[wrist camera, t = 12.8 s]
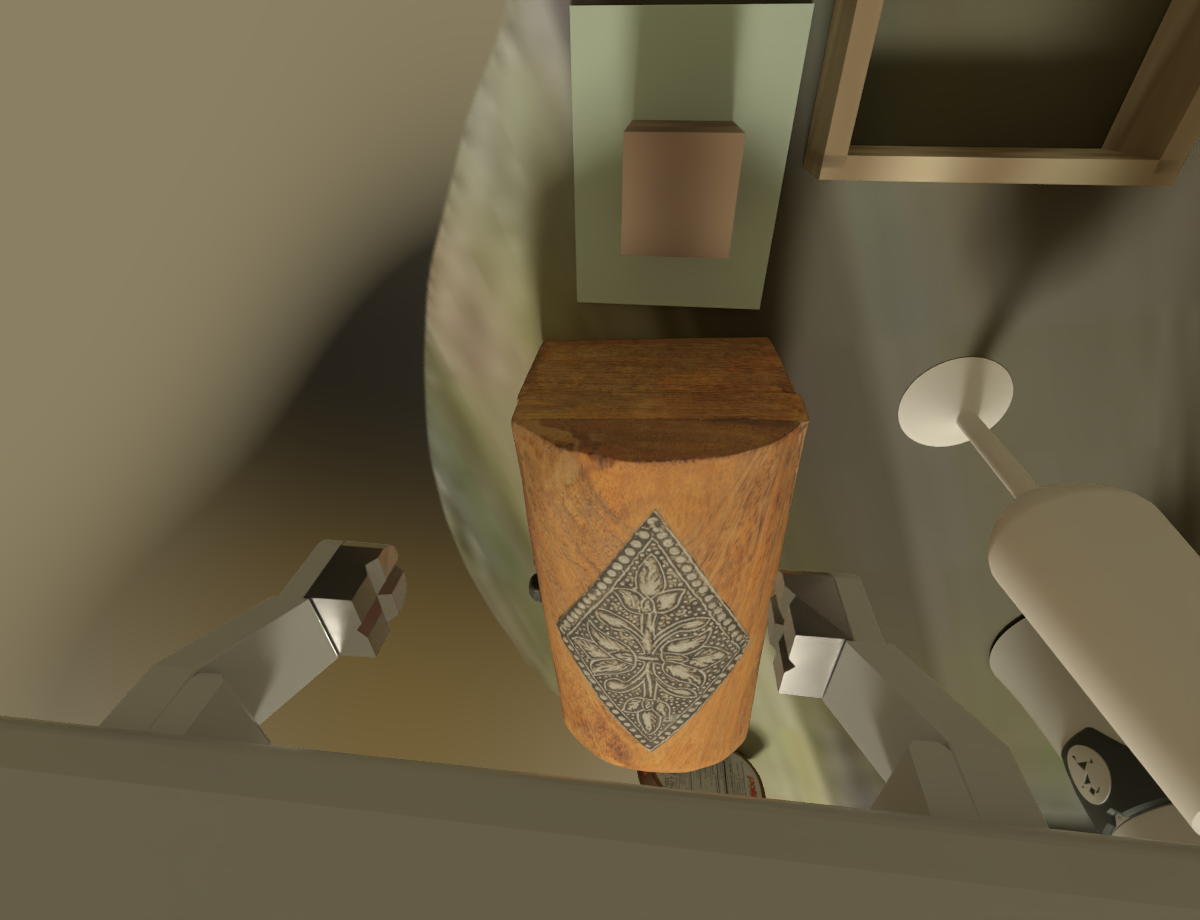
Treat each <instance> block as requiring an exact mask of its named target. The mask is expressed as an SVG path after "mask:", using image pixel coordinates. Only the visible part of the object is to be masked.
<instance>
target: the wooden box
mask: <svg viewBox="0 0 1200 920" xmlns="http://www.w3.org/2000/svg"><path fill="white" fill-rule="evenodd" d="M809 422H810V419H809V418H808V415H807V411H806V408H805V404H804V401H803V399H802V397H801V395H800V394H797V393H796V392H795V390H794V387H793V385H792V383H791V381H790V379H789V377H788V375H787V373H786V369H785V367H784V365H783V363H782V361H781V359H780V357H779V355H778V353H777V351H776V349H775V347H774V346H773V344H772V342H771V341H770V339H769V338H768V337H749V338H666V339H632V340H587V341H546V342H544V343H543V344H542V345H541V347H540V349H539V351H538V353H537V355H536V358H535V360H534V362H533V364H532V366H531V368H530V370H529V373H528V375H527V377H526V379H525V381H524V384H523V386H522V388H521V390H520V393H519V395H518V397H517V406H516V409H515V412H514V414H513V417H512V421H511V424H512V433H513V437H514V442H515V447H516V451H517V456H518V462H519V467H520V472H521V477H522V484H523V491H524V498H525V505H526V514H527V520H528V526H529V532H530V538H531V543H532V548H533V555H534V564H535V565H536V571H537V574H534V575H533V576H532V577H531V579H530V584H529V593H530V595H531V597H532V598H533V599H534V600H535V601H536V602H537V603H543V609H544V614H545V620H546V625H547V630H548V636H549V641H550V646H551V651H552V656H553V661H554V667H555V671H556V676H557V682H558V687H559V692H560V699H561V705H562V711H563V718H564V721H565V724H566V725H567V727H568V728H569V730H570V731H571V732H572V733H573V735H574V736H575V737H576V738H577V739H578V740H579V741H580V742H581V743H582V744H583V745H584V746H585V747H586V748H588V749H589V750H590V751H591V752H592V753H593V754H595V755H596V756H598V757H599V758H601V759H603V760H604V761H607V762H609V763H611V764H614V765H616V766H620V767H624V768H628V769H634V770H639V771H647V772H660V773H680V772H682V773H683V772H690V771H694V770H698V769H701V768H704V767H708V766H711V765H714V764H717V763H719V762H721V761H723V760H724V759H725V758H727V757H728V756H729V755H730V754H732V753H733V752H734V751H735V750H736V749H737V748H738V747H739V746H740V745H741V744H742V743H743V742H744V740H745V739H746V736H747V733H748V728H749V723H750V717H751V711H752V705H753V700H754V694H755V688H756V682H757V677H758V670H759V664H760V658H761V653H762V648H763V644H764V638H765V633H766V628H767V620H768V607H769V602H770V598H771V597H772V596H773V591H774V581H775V577H776V574H777V570H778V565H779V559H780V555H781V550H782V546H783V541H784V536H785V531H786V526H787V522H788V517H789V511H790V506H791V501H792V496H793V491H794V485H795V480H796V475H797V471H798V466H799V461H800V457H801V452H802V448H803V444H804V439H805V434H806V430H807V426H808V423H809Z"/></svg>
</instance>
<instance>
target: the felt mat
mask: <svg viewBox="0 0 1200 920" xmlns="http://www.w3.org/2000/svg"><path fill="white" fill-rule="evenodd" d="M813 9H814V4H708V5H592V6H570V35H571V76H572V117H573V157H574V198H575V239H576V279H577V302H586V303H611V304H635V305H660V306H685V307H710V308H735V309H760V304H761V298H762V293H763V287H764V281H765V276H766V270H767V265H768V259H769V254H770V248H771V242H772V237H773V231H774V226H775V220H776V215H777V209H778V203H779V198H780V192H781V187H782V181H783V176H784V170H785V165H786V159H787V153H788V148H789V142H790V137H791V131H792V126H793V120H794V114H795V109H796V103H797V98H798V92H799V87H800V81H801V75H802V70H803V64H804V59H805V53H806V48H807V42H808V36H809V31H810V25H811V20H812V14H813ZM632 120H694V121H733V122H735V123H736V124H737V125H738V126H739V127H740V128H741V129H742V130H743V131H744V132H745V133H746V134H745V141H744V148H743V156H742V163H741V170H740V178H739V185H738V192H737V200H736V207H735V214H734V222H733V229H732V236H731V243H730V251H729V258H728V259H725V258H694V257H663V256H632V255H621V226H622V182H623V138H624V130H625V129H626V128H627V127H628V125H629V124H630V123H631V121H632Z"/></svg>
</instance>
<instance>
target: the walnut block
mask: <svg viewBox="0 0 1200 920" xmlns="http://www.w3.org/2000/svg"><path fill="white" fill-rule="evenodd" d="M745 134H746V133H745V132H744V131H743V130H742V129H741V128H740V127H739V126H738V125H737V124H736V123H735V122H733V121H694V120H632V121H631V123H630V124H629V125H628V127H627V128H626V129H625V130H624V138H623V182H622V226H621V255H632V256H663V257H694V258H725V259H728V258H729V251H730V243H731V236H732V229H733V222H734V214H735V207H736V200H737V192H738V185H739V178H740V170H741V163H742V156H743V148H744V141H745Z"/></svg>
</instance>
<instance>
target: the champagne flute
mask: <svg viewBox="0 0 1200 920" xmlns="http://www.w3.org/2000/svg"><path fill="white" fill-rule="evenodd" d="M1012 396H1013V384H1012V379H1011V377H1010V375H1009V373H1008V372H1007V371H1006V370H1005V369H1004V368H1003V367H1002V366H1001V365H999V364H998V363H996V362H994V361H992V360H988V359H985V358H977V357H967V358H958V359H954V360H950V361H947V362H944V363H942V364H939V365H937V366H935V367H933V368H931V369H930V370H928V371H926V372H925V373H924V374H922V375H921V376H920V377H918V378H917V379H916V380H915V381H914V382H913V383H912V384H911V385H910V386H909V388H908V389H907V391H906V392H905V394H904V395H903V398H902V400H901V402H900V406H899V410H898V418H899V423H900V426H901V428H902V430H903V431H904V433H905V434H906V435H907V436H908V437H910V438H911V439H912V440H914V441H916V442H918V443H920V444H924V445H927V446H936V447H941V446H951V445H957V444H961V443H964V442H967V441H970V442H971V443H972V444H973V446H974V447H975V448H976V449H977V451H978V452H979V453H980V454H981V456H982V457H983V458H984V460H985V461H986V462H987V463H988V465H989V466H990V467H991V468H992V470H993V471H994V472H995V474H996V475H997V476H998V477H999V479H1000V480H1001V481H1002V482H1003V484H1004V485H1005V486H1006V488H1007V489H1008V490H1009V491H1010V493H1011V494H1012V495H1013V496H1014V498H1015V499H1016V500H1015V501H1014V502H1013V503H1012V504H1011V505H1010V506H1009V507H1008V508H1007V509H1006V510H1005V511H1004V512H1003V513H1002V514H1001V516H1000V517H999V519H998V520H997V522H996V524H995V526H994V529H993V531H992V534H991V537H990V539H989V547H988V562H989V566H990V569H991V573H992V575H993V576H994V578H995V579H996V580H997V582H998V583H999V584H1000V586H1001V587H1002V588H1003V589H1004V591H1005V592H1006V593H1007V594H1008V596H1009V597H1010V598H1011V600H1012V601H1013V602H1014V603H1015V605H1016V606H1017V607H1018V608H1019V610H1020V611H1021V612H1022V613H1023V615H1024V616H1025V617H1026V619H1027V620H1028V621H1029V622H1030V624H1031V625H1032V626H1033V627H1034V629H1035V630H1036V631H1037V632H1038V634H1039V635H1040V636H1041V637H1042V639H1043V640H1044V641H1045V643H1046V644H1047V645H1048V646H1049V648H1050V649H1051V650H1052V651H1053V653H1054V654H1055V655H1056V656H1057V658H1058V659H1059V660H1060V661H1061V663H1062V664H1063V665H1064V667H1065V668H1066V669H1067V670H1068V672H1069V673H1070V674H1071V675H1072V677H1073V678H1074V679H1075V680H1076V682H1077V683H1078V684H1079V685H1080V687H1081V688H1082V689H1083V691H1084V692H1085V693H1086V694H1087V696H1088V697H1089V698H1090V699H1091V701H1092V702H1093V703H1094V704H1095V706H1096V707H1097V708H1098V710H1099V711H1100V712H1101V713H1102V715H1103V716H1104V717H1105V718H1106V720H1107V721H1108V722H1109V723H1110V725H1111V726H1112V727H1113V728H1114V730H1115V731H1116V732H1117V734H1118V735H1119V736H1120V737H1121V739H1122V740H1123V741H1124V742H1125V744H1126V745H1127V746H1128V747H1129V749H1130V750H1131V751H1132V752H1133V754H1134V755H1135V756H1136V758H1137V759H1138V760H1139V761H1140V763H1141V764H1142V765H1143V766H1144V768H1145V769H1146V770H1147V771H1148V773H1149V774H1150V775H1151V776H1152V778H1153V779H1154V780H1155V782H1156V783H1157V784H1158V785H1159V787H1160V788H1161V789H1162V790H1163V792H1164V793H1165V794H1166V795H1167V797H1168V798H1169V799H1170V801H1171V802H1172V803H1173V804H1174V806H1175V807H1176V808H1177V809H1178V811H1179V812H1180V813H1181V814H1182V816H1183V817H1184V818H1185V819H1186V821H1187V822H1188V823H1189V825H1190V826H1191V827H1192V828H1193V830H1194V831H1195V832H1196V833H1197V834H1198V835H1200V556H1199V555H1198V554H1197V553H1196V552H1195V551H1194V549H1193V548H1192V547H1191V546H1190V545H1189V544H1188V543H1187V541H1186V540H1185V539H1184V538H1183V537H1182V536H1181V534H1180V533H1179V532H1178V531H1177V530H1176V529H1175V528H1174V526H1173V525H1172V524H1171V523H1170V522H1169V521H1168V519H1167V518H1166V517H1165V516H1164V515H1163V514H1162V512H1161V511H1160V510H1159V509H1158V508H1157V507H1156V506H1155V505H1154V504H1153V503H1151V502H1149V501H1147V500H1146V499H1144V498H1142V497H1140V496H1138V495H1136V494H1135V493H1132V492H1129V491H1125V490H1122V489H1118V488H1114V487H1110V486H1106V485H1097V484H1087V483H1064V484H1058V485H1052V486H1046V487H1039V486H1038V485H1037V484H1036V482H1035V481H1034V480H1033V479H1032V478H1031V477H1030V476H1029V474H1028V473H1027V472H1026V471H1025V470H1024V469H1023V467H1022V466H1021V465H1020V464H1019V463H1018V462H1017V460H1016V459H1015V458H1014V457H1013V456H1012V455H1011V454H1010V452H1009V451H1008V450H1007V449H1006V448H1005V447H1004V445H1003V444H1002V443H1001V442H1000V441H999V440H998V439H997V437H996V436H995V435H994V434H993V433H992V432H991V430H990V428H991V427H993V426H994V425H995V424H996V423H997V422H998V421H999V420H1000V419H1001V417H1002V416H1003V415H1004V414H1005V412H1006V410H1007V409H1008V407H1009V405H1010V402H1011V399H1012Z"/></svg>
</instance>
